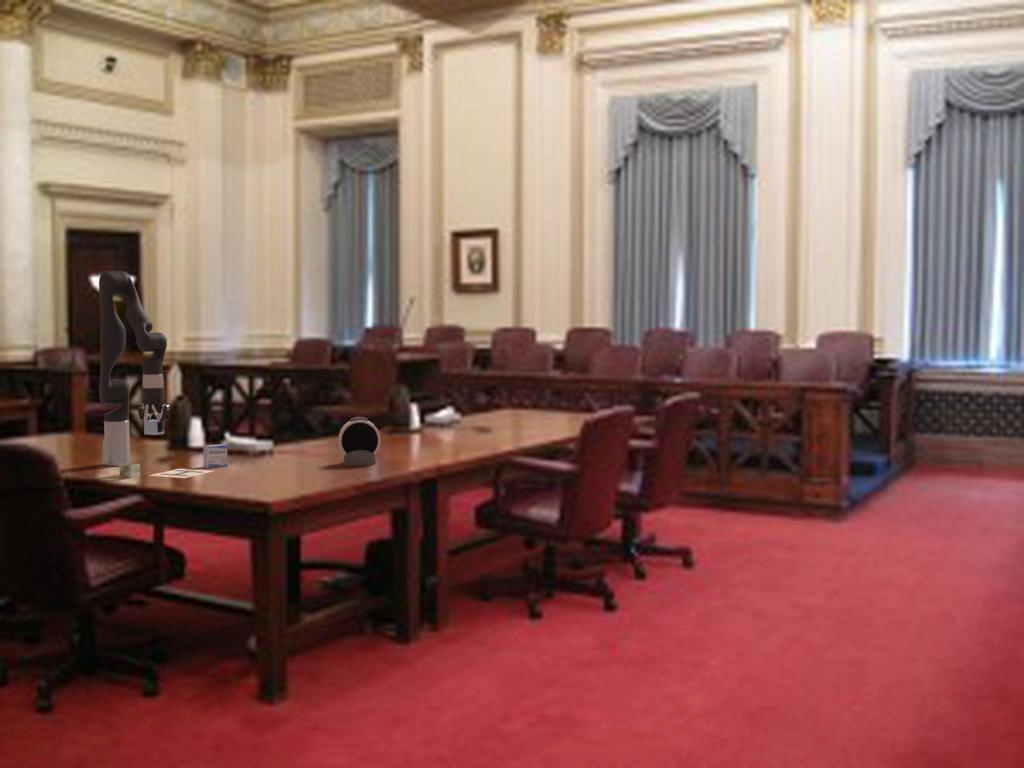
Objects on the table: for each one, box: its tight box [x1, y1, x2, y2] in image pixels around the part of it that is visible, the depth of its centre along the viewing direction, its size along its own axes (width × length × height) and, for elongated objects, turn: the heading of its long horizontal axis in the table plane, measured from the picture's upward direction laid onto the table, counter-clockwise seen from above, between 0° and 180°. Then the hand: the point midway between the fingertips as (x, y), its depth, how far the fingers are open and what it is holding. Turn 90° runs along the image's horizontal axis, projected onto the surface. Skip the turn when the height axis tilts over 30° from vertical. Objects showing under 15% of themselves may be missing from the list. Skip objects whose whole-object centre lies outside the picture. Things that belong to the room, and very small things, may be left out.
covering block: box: [118, 462, 141, 479], centre depth 422 cm, size 5×5×5 cm
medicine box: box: [202, 443, 228, 469], centre depth 447 cm, size 8×4×9 cm, turn 126°
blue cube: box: [143, 419, 165, 436], centre depth 435 cm, size 5×5×5 cm
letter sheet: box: [148, 468, 214, 479], centre depth 430 cm, size 16×18×1 cm
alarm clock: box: [338, 416, 381, 466], centre depth 457 cm, size 16×10×18 cm, turn 101°
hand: (154, 431), depth 435 cm, fingers closed on blue cube, 5 cm apart
